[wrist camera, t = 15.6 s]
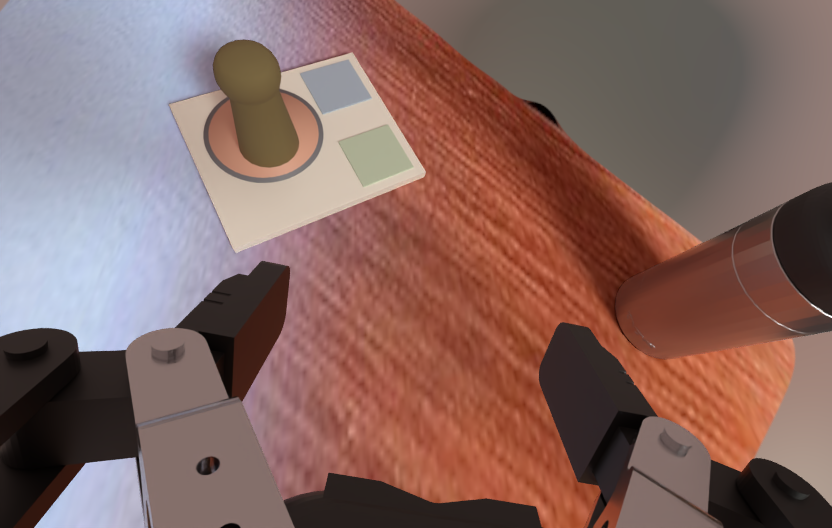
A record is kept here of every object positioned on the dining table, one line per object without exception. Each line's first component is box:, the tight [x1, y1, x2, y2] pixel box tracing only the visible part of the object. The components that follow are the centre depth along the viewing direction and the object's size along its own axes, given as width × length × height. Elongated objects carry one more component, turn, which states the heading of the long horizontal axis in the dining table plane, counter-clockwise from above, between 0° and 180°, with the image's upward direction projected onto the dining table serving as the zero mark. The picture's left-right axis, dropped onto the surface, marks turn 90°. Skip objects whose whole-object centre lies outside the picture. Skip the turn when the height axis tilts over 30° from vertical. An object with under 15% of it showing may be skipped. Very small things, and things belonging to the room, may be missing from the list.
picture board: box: [169, 53, 426, 253], centre depth 43 cm, size 21×18×1 cm
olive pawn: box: [213, 40, 299, 168], centre depth 37 cm, size 6×6×11 cm
